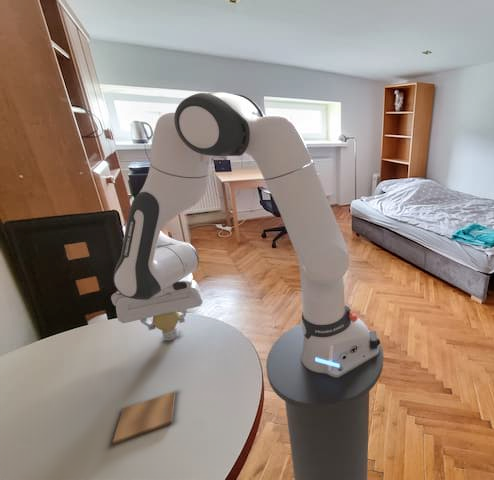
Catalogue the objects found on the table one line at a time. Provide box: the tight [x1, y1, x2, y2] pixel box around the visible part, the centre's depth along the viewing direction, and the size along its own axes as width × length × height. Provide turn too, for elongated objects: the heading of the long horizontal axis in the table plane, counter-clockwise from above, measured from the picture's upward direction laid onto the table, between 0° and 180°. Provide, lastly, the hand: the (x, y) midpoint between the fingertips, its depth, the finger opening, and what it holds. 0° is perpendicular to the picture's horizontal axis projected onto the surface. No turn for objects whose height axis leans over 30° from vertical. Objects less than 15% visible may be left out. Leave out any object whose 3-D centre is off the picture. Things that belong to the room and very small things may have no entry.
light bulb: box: [152, 311, 180, 341], centre depth 84 cm, size 6×6×10 cm
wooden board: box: [112, 391, 176, 444], centre depth 62 cm, size 10×8×1 cm
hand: (168, 324), depth 84 cm, fingers closed on light bulb, 6 cm apart
